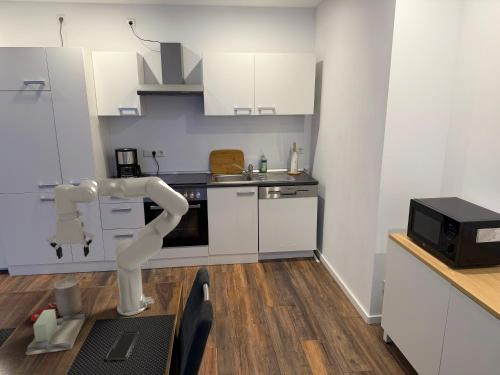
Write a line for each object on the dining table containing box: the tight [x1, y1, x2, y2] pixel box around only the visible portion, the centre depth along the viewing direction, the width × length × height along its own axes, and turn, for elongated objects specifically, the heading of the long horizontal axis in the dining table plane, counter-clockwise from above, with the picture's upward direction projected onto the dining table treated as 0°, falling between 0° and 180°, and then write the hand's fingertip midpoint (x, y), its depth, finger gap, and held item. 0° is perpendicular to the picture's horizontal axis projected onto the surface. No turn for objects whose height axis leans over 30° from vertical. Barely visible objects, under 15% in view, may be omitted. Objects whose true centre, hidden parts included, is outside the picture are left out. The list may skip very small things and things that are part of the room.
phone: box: [105, 331, 140, 361], centre depth 124 cm, size 8×1×15 cm
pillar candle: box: [53, 277, 84, 318], centre depth 146 cm, size 10×10×15 cm
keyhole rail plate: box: [25, 313, 86, 356], centre depth 131 cm, size 15×19×2 cm
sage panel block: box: [32, 309, 57, 342], centre depth 129 cm, size 4×10×8 cm, turn 12°
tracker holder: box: [30, 302, 59, 323], centre depth 143 cm, size 12×4×10 cm
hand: (73, 256), depth 136 cm, fingers open, 9 cm apart
